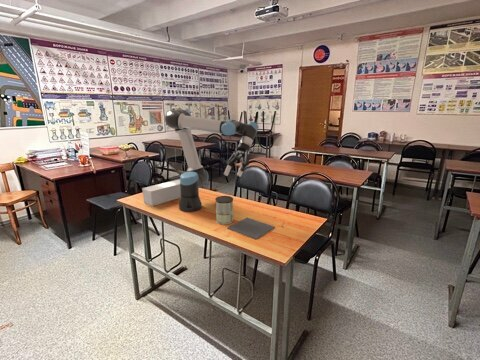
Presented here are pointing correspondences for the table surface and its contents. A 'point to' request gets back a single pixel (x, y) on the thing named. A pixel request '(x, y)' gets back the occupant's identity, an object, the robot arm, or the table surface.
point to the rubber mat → (251, 228)
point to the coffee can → (224, 209)
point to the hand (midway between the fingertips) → (231, 175)
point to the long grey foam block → (162, 193)
